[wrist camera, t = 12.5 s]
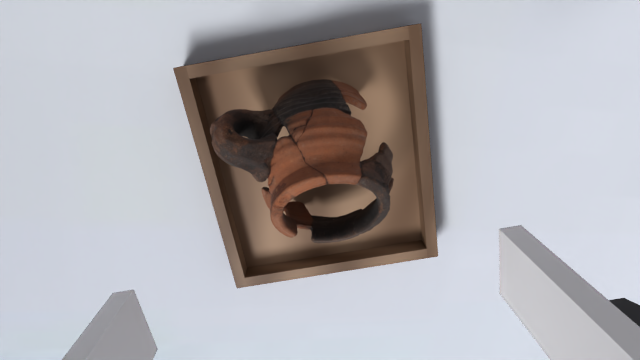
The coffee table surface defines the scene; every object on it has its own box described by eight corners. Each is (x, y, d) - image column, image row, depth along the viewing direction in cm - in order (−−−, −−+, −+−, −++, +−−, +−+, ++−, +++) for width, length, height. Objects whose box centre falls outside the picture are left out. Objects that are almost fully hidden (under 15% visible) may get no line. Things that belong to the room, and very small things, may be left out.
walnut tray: (241, 273, 32) (236, 288, 30) (183, 66, 26) (173, 67, 24) (430, 243, 31) (438, 256, 29) (412, 24, 25) (421, 23, 23)
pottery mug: (401, 88, 27) (437, 178, 21) (343, 174, 33) (360, 260, 28) (227, 35, 22) (218, 132, 17) (200, 146, 29) (187, 241, 24)
